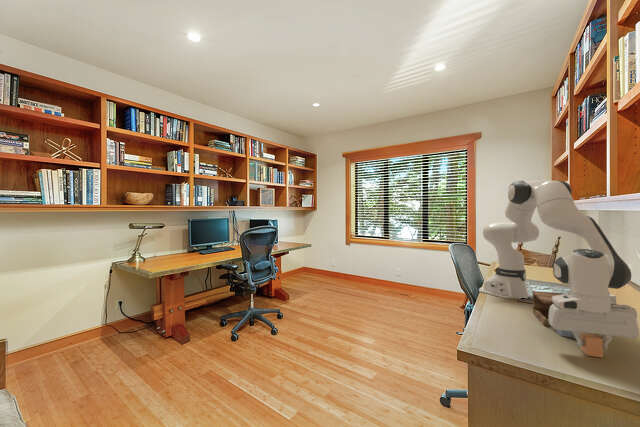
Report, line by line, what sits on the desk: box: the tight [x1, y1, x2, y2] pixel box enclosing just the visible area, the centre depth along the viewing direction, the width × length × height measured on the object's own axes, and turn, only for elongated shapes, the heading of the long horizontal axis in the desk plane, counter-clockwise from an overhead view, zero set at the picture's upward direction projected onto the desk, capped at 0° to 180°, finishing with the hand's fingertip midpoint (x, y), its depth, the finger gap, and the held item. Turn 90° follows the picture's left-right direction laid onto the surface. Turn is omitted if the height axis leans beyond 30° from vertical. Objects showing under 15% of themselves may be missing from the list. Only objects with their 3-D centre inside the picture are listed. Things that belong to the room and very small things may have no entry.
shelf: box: [531, 290, 567, 327], centre depth 107 cm, size 14×11×10 cm
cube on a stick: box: [554, 329, 604, 358], centre depth 90 cm, size 21×7×6 cm, turn 156°
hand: (591, 346), depth 83 cm, fingers closed on cube on a stick, 4 cm apart
